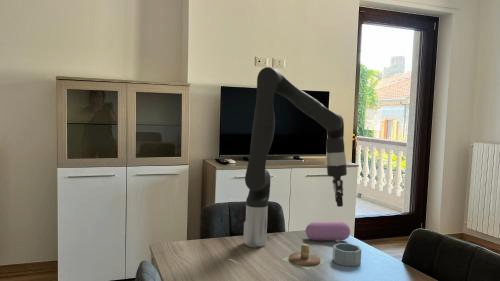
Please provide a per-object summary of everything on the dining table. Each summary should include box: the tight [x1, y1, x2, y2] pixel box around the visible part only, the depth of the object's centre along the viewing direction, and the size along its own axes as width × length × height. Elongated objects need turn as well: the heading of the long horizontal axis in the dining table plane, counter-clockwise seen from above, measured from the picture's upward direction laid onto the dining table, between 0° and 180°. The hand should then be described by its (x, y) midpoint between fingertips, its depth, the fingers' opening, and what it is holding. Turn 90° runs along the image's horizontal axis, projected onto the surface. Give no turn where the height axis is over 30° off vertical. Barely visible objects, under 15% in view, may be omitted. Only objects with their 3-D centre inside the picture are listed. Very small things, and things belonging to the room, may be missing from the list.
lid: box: [288, 243, 321, 266], centre depth 157 cm, size 12×12×6 cm
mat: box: [280, 256, 329, 270], centre depth 158 cm, size 13×13×1 cm
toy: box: [305, 221, 351, 243], centre depth 185 cm, size 8×9×20 cm
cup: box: [332, 242, 362, 267], centre depth 158 cm, size 10×10×6 cm
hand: (339, 204), depth 162 cm, fingers open, 8 cm apart
